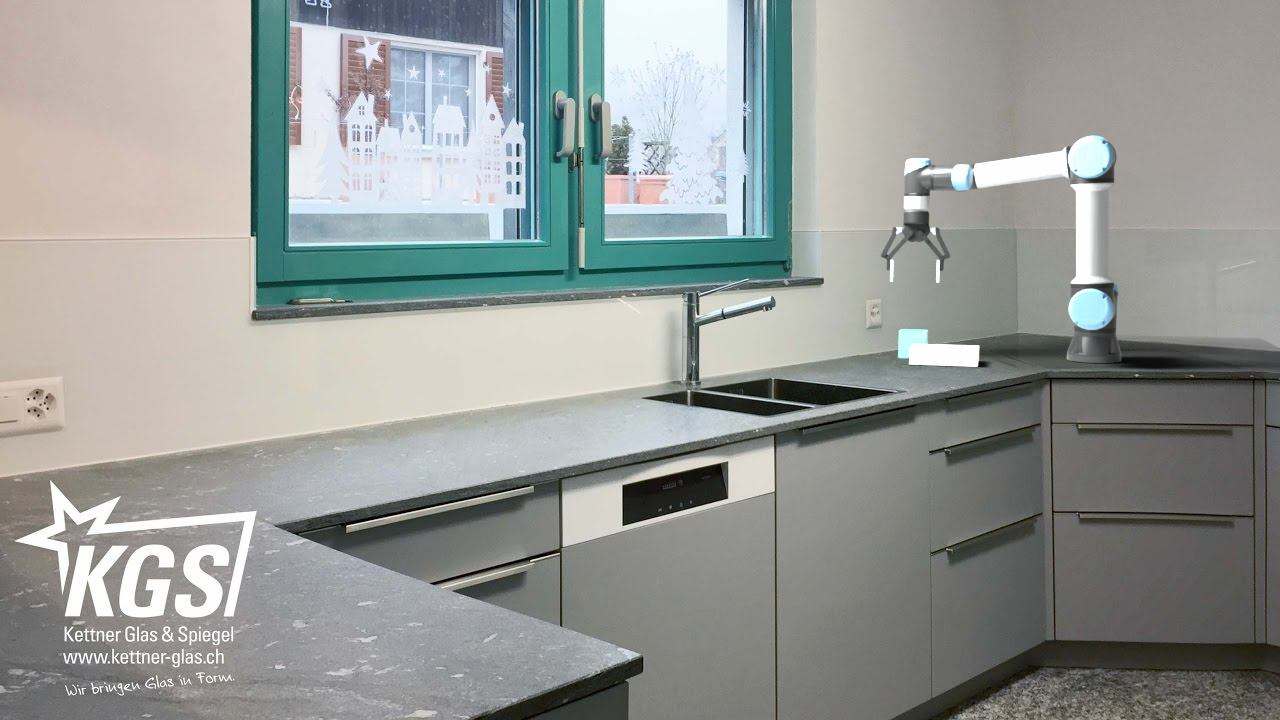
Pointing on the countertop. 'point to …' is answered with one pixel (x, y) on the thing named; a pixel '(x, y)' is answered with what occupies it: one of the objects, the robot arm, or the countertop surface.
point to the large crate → (944, 355)
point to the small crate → (910, 340)
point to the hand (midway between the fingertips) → (914, 281)
